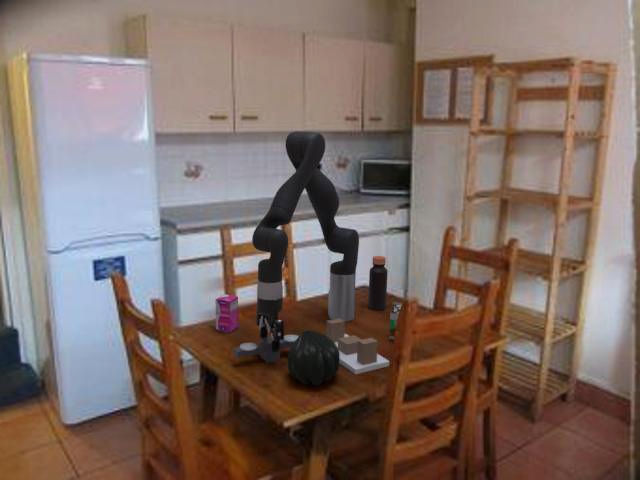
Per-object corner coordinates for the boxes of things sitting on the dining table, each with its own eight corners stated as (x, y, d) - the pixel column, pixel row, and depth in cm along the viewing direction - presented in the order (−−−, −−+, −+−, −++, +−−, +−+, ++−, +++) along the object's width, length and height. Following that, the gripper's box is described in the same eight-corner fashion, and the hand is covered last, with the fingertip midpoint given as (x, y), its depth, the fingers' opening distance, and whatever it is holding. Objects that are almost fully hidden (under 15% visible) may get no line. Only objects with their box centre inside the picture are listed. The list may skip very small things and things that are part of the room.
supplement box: (215, 330, 190) (214, 298, 188) (224, 325, 196) (224, 293, 193) (230, 333, 188) (229, 301, 186) (239, 327, 193) (238, 295, 191)
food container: (407, 344, 182) (409, 315, 180) (388, 342, 183) (390, 313, 181) (409, 330, 194) (411, 303, 192) (391, 328, 195) (393, 301, 193)
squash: (358, 363, 155) (331, 316, 159) (320, 383, 144) (293, 331, 148) (330, 381, 164) (306, 336, 168) (293, 401, 154) (268, 352, 158)
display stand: (314, 344, 180) (314, 321, 179) (345, 337, 186) (346, 315, 185) (355, 374, 160) (356, 348, 158) (389, 366, 166) (390, 340, 164)
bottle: (365, 305, 219) (367, 255, 215) (382, 304, 220) (384, 254, 216) (371, 311, 212) (373, 260, 208) (388, 310, 214) (390, 259, 210)
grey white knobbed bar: (238, 369, 162) (238, 349, 161) (232, 362, 166) (232, 343, 165) (305, 354, 173) (306, 336, 172) (298, 348, 177) (298, 330, 176)
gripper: (248, 289, 169) (248, 340, 173) (268, 303, 157) (268, 357, 161) (271, 286, 173) (270, 336, 176) (292, 299, 161) (291, 352, 164)
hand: (269, 346), depth 169 cm, fingers open, 8 cm apart
